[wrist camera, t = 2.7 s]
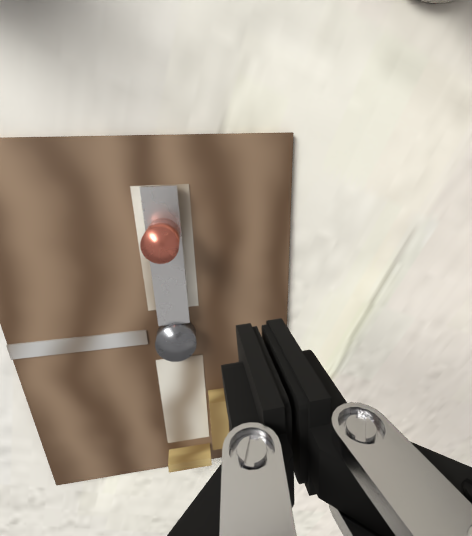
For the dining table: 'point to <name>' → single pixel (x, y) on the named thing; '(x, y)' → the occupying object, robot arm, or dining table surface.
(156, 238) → the arm
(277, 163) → the board
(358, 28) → the dining table surface
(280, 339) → the robot arm
